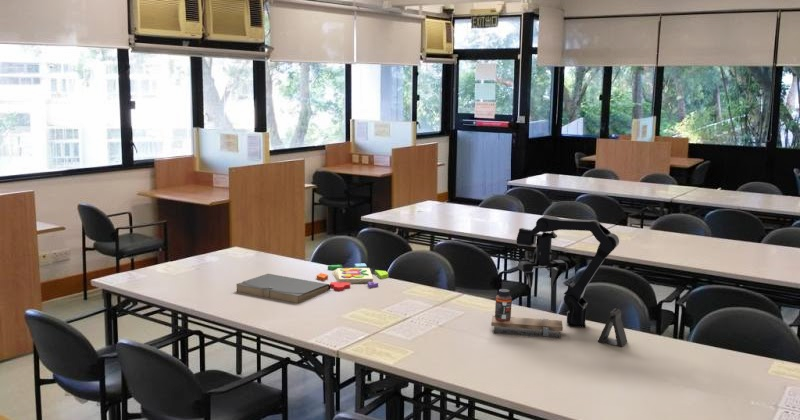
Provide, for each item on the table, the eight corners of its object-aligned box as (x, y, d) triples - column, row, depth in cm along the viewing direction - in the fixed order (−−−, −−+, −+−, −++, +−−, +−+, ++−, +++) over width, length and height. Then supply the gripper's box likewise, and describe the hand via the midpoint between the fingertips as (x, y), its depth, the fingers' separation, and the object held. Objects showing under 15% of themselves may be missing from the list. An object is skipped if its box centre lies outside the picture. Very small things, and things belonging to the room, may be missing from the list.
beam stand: (558, 328, 278) (559, 319, 278) (559, 338, 267) (560, 329, 267) (494, 323, 282) (495, 315, 282) (493, 333, 272) (493, 324, 271)
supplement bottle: (507, 322, 272) (509, 293, 270) (492, 320, 274) (493, 291, 273) (512, 318, 277) (514, 289, 275) (497, 315, 280) (499, 287, 278)
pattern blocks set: (306, 271, 355) (306, 265, 354) (371, 266, 368) (371, 260, 367) (331, 292, 320) (331, 285, 320) (401, 286, 334) (401, 279, 333)
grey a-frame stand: (627, 342, 265) (630, 311, 262) (622, 347, 260) (624, 315, 258) (603, 337, 270) (605, 306, 268) (597, 342, 265) (599, 310, 263)
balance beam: (561, 324, 276) (561, 320, 276) (562, 331, 268) (562, 327, 268) (492, 319, 281) (492, 315, 280) (491, 326, 273) (491, 321, 273)
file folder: (235, 283, 317) (270, 272, 338) (235, 292, 318) (270, 280, 339) (298, 295, 302) (330, 282, 323) (298, 304, 303) (330, 291, 324)
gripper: (556, 242, 295) (553, 280, 297) (513, 244, 290) (511, 282, 293) (569, 249, 284) (566, 288, 287) (524, 250, 279) (522, 290, 282)
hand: (541, 287), depth 287 cm, fingers open, 9 cm apart
